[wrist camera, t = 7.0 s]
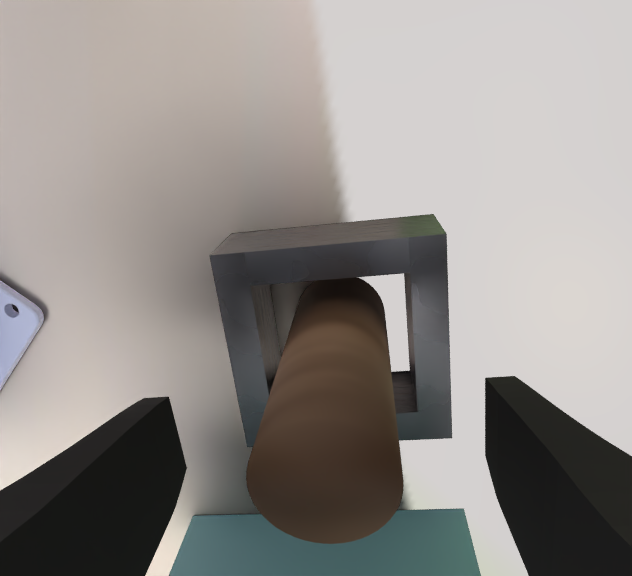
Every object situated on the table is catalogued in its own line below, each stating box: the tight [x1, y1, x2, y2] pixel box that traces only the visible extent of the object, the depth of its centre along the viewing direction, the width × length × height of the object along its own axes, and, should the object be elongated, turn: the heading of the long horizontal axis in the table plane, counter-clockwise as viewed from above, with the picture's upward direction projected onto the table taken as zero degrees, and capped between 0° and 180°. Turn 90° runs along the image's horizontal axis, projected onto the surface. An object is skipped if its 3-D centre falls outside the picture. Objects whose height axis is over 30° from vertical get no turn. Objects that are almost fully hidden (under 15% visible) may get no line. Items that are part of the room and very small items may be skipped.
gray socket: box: [210, 214, 452, 447], centre depth 16 cm, size 6×6×2 cm
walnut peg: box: [246, 277, 403, 544], centre depth 13 cm, size 3×3×8 cm
